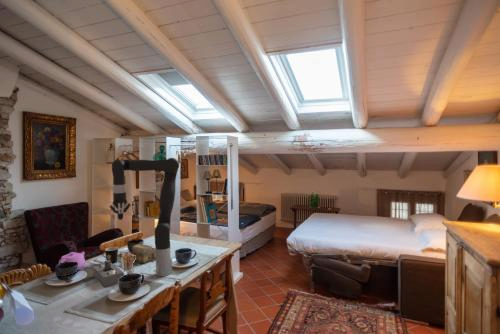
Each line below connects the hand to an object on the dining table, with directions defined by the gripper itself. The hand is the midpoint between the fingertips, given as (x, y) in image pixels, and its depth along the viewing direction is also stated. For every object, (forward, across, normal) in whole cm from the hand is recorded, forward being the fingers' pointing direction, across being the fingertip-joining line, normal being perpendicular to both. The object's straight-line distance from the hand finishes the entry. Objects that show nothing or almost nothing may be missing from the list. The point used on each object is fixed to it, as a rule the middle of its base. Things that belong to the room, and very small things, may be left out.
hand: (120, 219), depth 190 cm
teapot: (+37, +20, -33) cm, 54 cm away
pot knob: (+32, +7, -4) cm, 33 cm away
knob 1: (+36, +7, -11) cm, 38 cm away
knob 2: (+36, +7, +4) cm, 37 cm away
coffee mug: (+37, -4, -33) cm, 50 cm away
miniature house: (+37, -23, -19) cm, 48 cm away
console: (+37, +7, -4) cm, 38 cm away
